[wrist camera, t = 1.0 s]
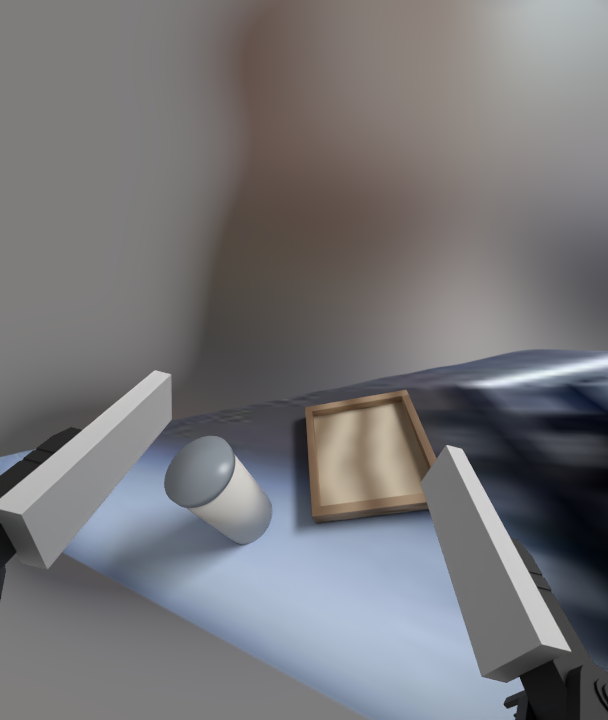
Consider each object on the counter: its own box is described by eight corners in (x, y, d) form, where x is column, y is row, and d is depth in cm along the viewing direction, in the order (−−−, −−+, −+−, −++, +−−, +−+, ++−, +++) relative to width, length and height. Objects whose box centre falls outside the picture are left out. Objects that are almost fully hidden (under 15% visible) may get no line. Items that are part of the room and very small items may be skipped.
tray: (405, 399, 43) (406, 389, 42) (450, 506, 31) (453, 498, 30) (308, 416, 45) (305, 407, 43) (316, 523, 33) (312, 516, 31)
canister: (266, 480, 39) (226, 426, 29) (279, 530, 33) (236, 483, 24) (221, 501, 38) (165, 452, 28) (227, 556, 33) (162, 518, 23)
